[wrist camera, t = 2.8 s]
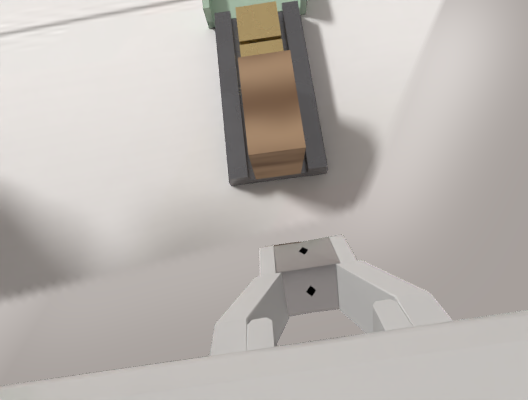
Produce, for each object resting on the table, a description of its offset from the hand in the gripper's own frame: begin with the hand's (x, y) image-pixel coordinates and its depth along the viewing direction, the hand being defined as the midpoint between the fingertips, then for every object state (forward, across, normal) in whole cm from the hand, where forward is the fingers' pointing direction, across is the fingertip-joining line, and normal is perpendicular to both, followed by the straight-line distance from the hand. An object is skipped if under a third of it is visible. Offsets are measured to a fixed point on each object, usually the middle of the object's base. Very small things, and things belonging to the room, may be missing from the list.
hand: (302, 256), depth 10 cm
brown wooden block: (+24, 0, 0) cm, 24 cm away
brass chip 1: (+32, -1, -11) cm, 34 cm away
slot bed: (+29, 0, -4) cm, 29 cm away
